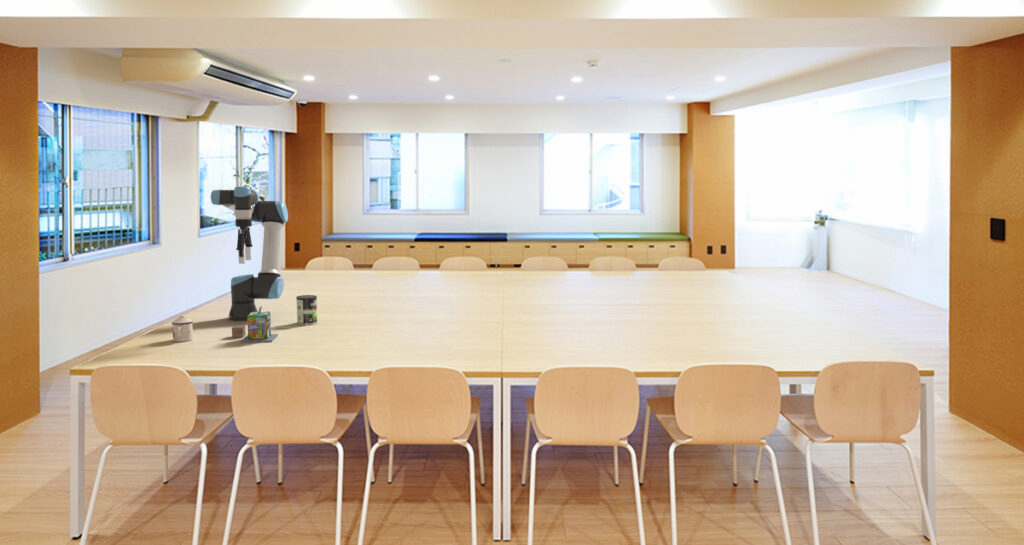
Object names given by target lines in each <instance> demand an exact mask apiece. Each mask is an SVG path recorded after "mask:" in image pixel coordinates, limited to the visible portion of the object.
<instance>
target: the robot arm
mask: <svg viewBox="0 0 1024 545" xmlns="http://www.w3.org/2000/svg"><path fill="white" fill-rule="evenodd" d="M210 200H211V204H212V205H214V206H224V208H227V209H229V210H232V211H233V213H234V216H235V220H234V221H235V227H237V228H239V229H237V244H236V248H235V251H237V252H238V253H237V254H238V264H241V265H242V264H246V261H252V247H253V243H252V237H251V230H250V229H251V227H252V226H253V223H254V222H255V223H261V226H262V227H263V242H262V257H261V267H260V268H261V270H260V271H259V272H258V273H257V276H254V274H253V273H252V274H249V273H248V274H242V275H237V276H232V278H231V279H230V292H231V293H230V294H231V295H230V296H231V306H230V310H229V313H228V320H230V321H247V316H248V315H249V314H250V313H251V312H259V310H258V309H257V307H256V302H255V300H276V299H277V300H278V299H279V298H280V297H281V296H282V293H283V291H284V285H285V284H284V282H285V281H284V278H283V277H282V276H281V274H280V273H279V260H280V259H279V258H280V245H281V244H280V243H281V229H282V228H284V225H285V223H287V222H288V220H289V211H288V208H287V205H286V203H285V202H284V201H282V200H260V195H259V192H257V191H256V190H255V189H251V187H250V186H246V185H245V186H235V187H234V189H213V190H212V191H211V193H210ZM252 222H253V223H252Z"/></svg>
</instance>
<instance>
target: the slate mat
mask: <svg viewBox="0 0 1024 545" xmlns="http://www.w3.org/2000/svg"><path fill="white" fill-rule="evenodd" d="M278 336H279V334H278V333H273V334H272V333H271V336H270V337H269V338H268V339H248V334H247V335H246V336H245V337H243V338H241V340H240V343H272V342H273V341H275V340H276V339H277V337H278Z"/></svg>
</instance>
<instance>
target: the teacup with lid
mask: <svg viewBox="0 0 1024 545" xmlns="http://www.w3.org/2000/svg"><path fill="white" fill-rule="evenodd" d="M171 324H172V325H171V326H172V341H174V342H176V343H183V342H190V341H193V339H194V330H193V329H194V328H193V319H190V318H188V317H185V315H183V314H181V315H179V317H177V318H176V319H174V320H172V321H171Z"/></svg>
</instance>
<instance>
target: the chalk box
mask: <svg viewBox="0 0 1024 545" xmlns="http://www.w3.org/2000/svg"><path fill="white" fill-rule="evenodd" d="M262 308H263V306H262V305H261V306H259V309H258V312H251V313H250V314H249V315H248V316H247V320H246V321H247V335H248V339H268V338H269V337H270V336H271V334H272V331H271V329H272V328H271V327H272V326H271V323H272V322H271V321H272V319H271V311H262Z"/></svg>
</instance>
